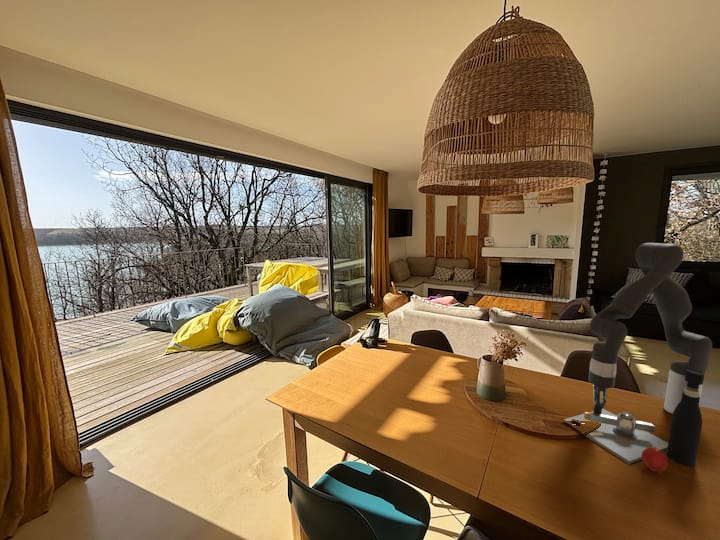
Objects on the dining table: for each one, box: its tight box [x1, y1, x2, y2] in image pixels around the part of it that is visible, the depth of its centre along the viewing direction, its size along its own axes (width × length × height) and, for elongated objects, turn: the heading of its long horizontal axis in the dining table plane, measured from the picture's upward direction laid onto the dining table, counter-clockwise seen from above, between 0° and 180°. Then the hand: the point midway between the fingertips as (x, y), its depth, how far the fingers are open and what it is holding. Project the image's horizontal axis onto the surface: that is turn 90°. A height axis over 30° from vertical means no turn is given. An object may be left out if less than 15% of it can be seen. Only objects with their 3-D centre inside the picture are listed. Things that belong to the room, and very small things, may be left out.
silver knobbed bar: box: [583, 411, 656, 438], centre depth 108 cm, size 20×5×7 cm, turn 69°
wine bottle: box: [666, 369, 705, 468], centre depth 95 cm, size 6×6×30 cm
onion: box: [641, 447, 669, 472], centre depth 92 cm, size 6×6×8 cm
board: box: [562, 408, 668, 465], centre depth 109 cm, size 22×22×1 cm
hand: (596, 414), depth 112 cm, fingers closed
